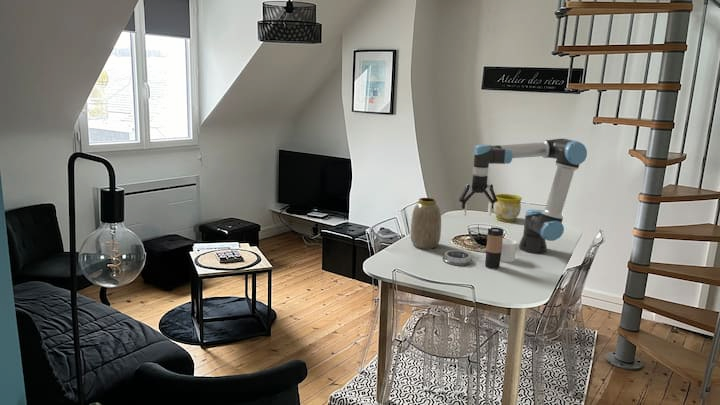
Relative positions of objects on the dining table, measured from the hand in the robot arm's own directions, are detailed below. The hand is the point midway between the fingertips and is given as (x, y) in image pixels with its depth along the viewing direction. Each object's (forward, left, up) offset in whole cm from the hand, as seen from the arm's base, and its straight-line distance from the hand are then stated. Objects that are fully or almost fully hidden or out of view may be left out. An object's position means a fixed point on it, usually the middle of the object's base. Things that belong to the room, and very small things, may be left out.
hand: (476, 214), depth 275 cm
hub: (+8, +6, -24) cm, 26 cm away
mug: (-17, -6, -25) cm, 30 cm away
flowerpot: (-18, -92, -25) cm, 97 cm away
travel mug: (-10, +9, -25) cm, 28 cm away
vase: (+28, -15, -25) cm, 40 cm away
